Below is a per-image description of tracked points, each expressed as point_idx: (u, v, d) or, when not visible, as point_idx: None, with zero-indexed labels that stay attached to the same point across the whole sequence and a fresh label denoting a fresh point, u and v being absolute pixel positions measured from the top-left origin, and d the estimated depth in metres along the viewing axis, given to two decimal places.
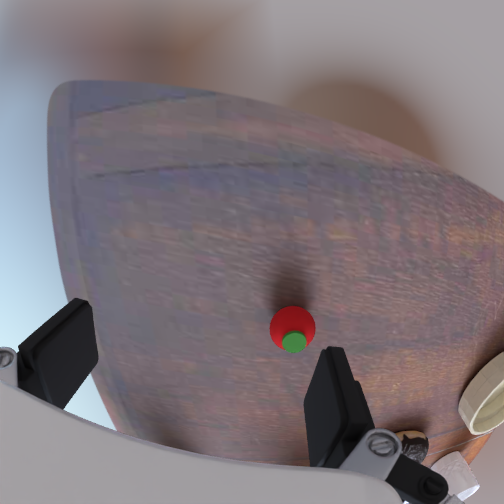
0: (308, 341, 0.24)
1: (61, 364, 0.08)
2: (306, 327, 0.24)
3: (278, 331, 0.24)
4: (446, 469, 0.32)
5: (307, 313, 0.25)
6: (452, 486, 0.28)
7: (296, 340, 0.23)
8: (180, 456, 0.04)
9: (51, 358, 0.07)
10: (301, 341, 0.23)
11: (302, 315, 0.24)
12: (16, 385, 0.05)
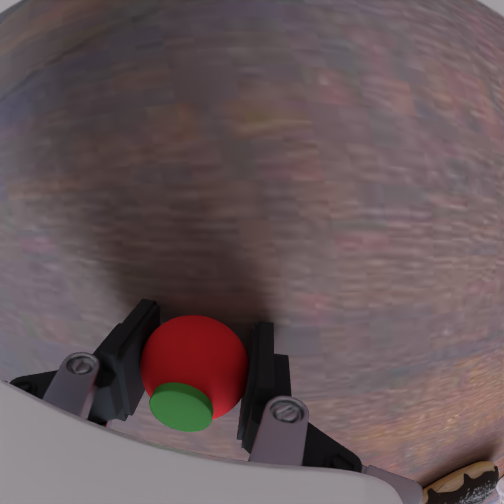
0: (226, 402, 0.09)
1: (137, 365, 0.09)
2: (206, 370, 0.08)
3: (145, 382, 0.09)
4: None
5: (213, 331, 0.09)
6: None
7: (181, 407, 0.08)
8: (180, 456, 0.04)
9: (131, 360, 0.09)
10: (195, 409, 0.08)
11: (193, 340, 0.09)
12: (85, 398, 0.06)
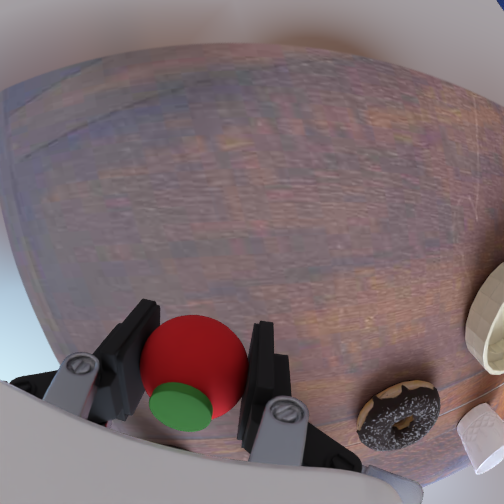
0: (225, 402, 0.09)
1: (137, 365, 0.09)
2: (205, 370, 0.08)
3: (145, 382, 0.09)
4: (474, 426, 0.28)
5: (213, 331, 0.09)
6: (483, 446, 0.24)
7: (180, 407, 0.08)
8: (180, 456, 0.04)
9: (131, 360, 0.09)
10: (194, 409, 0.08)
11: (192, 340, 0.09)
12: (85, 398, 0.06)
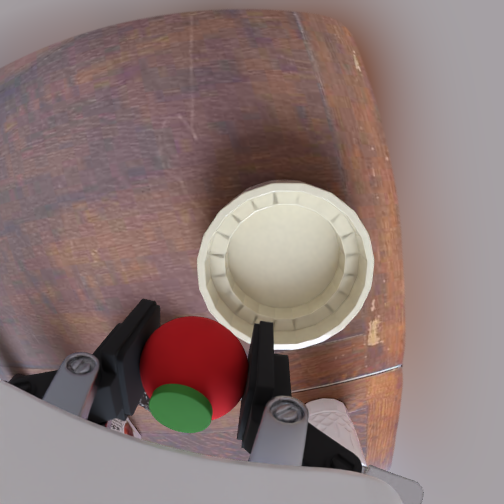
0: (225, 403, 0.09)
1: (137, 365, 0.09)
2: (205, 371, 0.08)
3: (145, 383, 0.09)
4: None
5: (213, 333, 0.09)
6: None
7: (180, 408, 0.08)
8: (180, 456, 0.04)
9: (131, 360, 0.09)
10: (194, 410, 0.08)
11: (192, 342, 0.09)
12: (85, 398, 0.06)
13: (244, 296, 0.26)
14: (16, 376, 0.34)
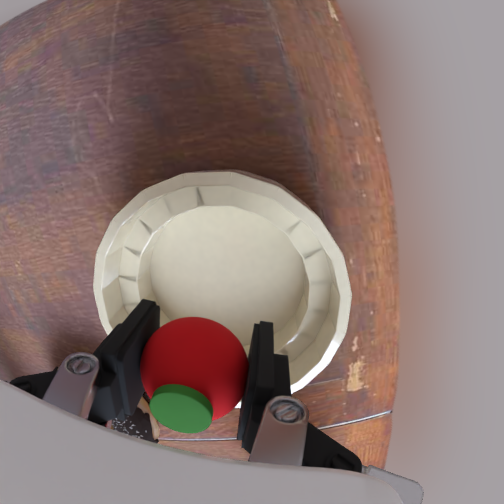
0: (225, 404, 0.09)
1: (137, 365, 0.09)
2: (206, 372, 0.08)
3: (145, 383, 0.09)
4: None
5: (213, 333, 0.09)
6: None
7: (181, 409, 0.08)
8: (180, 456, 0.04)
9: (131, 360, 0.09)
10: (194, 411, 0.08)
11: (192, 342, 0.09)
12: (85, 398, 0.06)
13: None
14: None
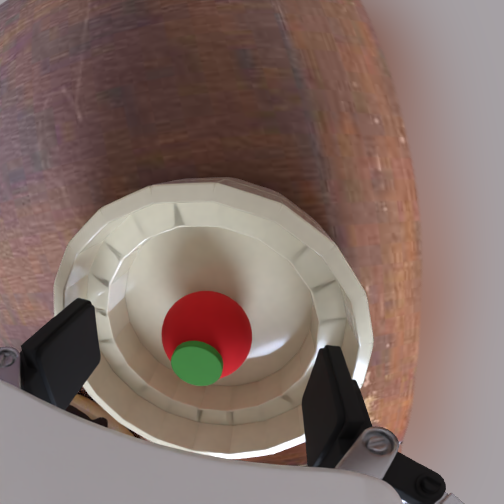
0: (233, 360, 0.11)
1: (63, 363, 0.08)
2: (218, 330, 0.11)
3: (167, 344, 0.11)
4: None
5: (223, 301, 0.12)
6: None
7: (197, 361, 0.10)
8: (180, 456, 0.04)
9: (54, 358, 0.08)
10: (208, 363, 0.10)
11: (207, 308, 0.11)
12: (19, 385, 0.05)
13: (157, 367, 0.15)
14: None
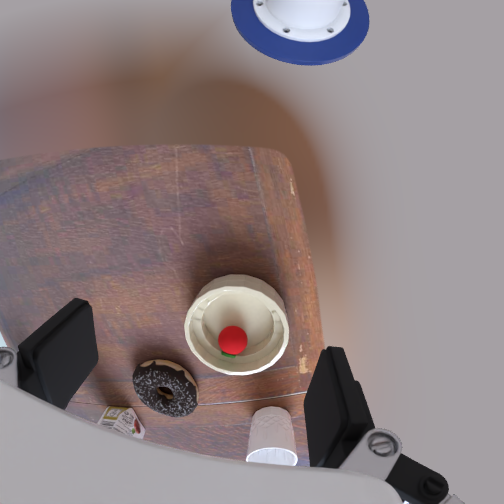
0: None
1: (61, 364, 0.08)
2: (233, 352, 0.37)
3: (220, 346, 0.39)
4: (254, 423, 0.43)
5: (235, 344, 0.37)
6: (251, 442, 0.39)
7: None
8: (180, 456, 0.04)
9: (51, 358, 0.07)
10: None
11: (229, 347, 0.37)
12: (16, 385, 0.05)
13: (214, 341, 0.41)
14: None
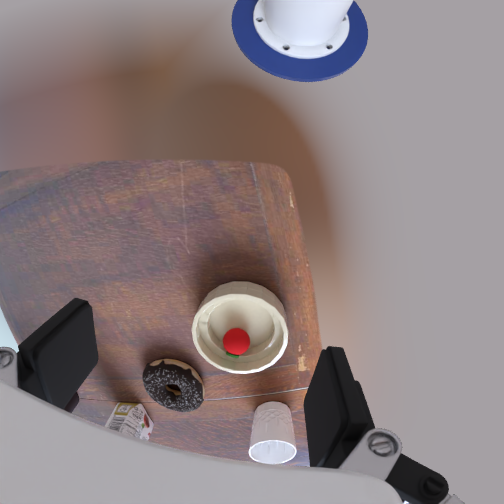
0: (242, 353, 0.42)
1: (61, 364, 0.08)
2: (236, 353, 0.41)
3: (224, 347, 0.42)
4: (257, 417, 0.46)
5: (238, 345, 0.40)
6: (253, 435, 0.42)
7: None
8: (180, 456, 0.04)
9: (51, 358, 0.07)
10: None
11: (233, 348, 0.40)
12: (16, 385, 0.05)
13: (219, 342, 0.44)
14: None
